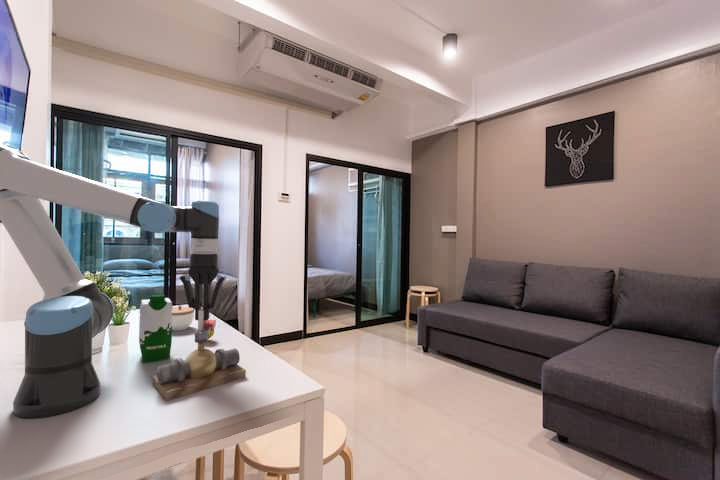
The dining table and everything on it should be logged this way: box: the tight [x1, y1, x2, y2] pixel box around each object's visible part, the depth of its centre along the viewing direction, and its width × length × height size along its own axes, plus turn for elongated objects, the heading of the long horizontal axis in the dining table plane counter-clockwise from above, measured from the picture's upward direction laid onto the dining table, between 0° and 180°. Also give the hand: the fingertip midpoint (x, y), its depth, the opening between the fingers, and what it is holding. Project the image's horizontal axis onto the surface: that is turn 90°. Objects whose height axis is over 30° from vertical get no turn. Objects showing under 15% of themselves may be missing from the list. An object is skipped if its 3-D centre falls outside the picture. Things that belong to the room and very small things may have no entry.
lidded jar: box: [172, 304, 195, 332], centre depth 138 cm, size 11×11×9 cm
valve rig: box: [151, 342, 247, 401], centre depth 92 cm, size 20×12×10 cm, turn 136°
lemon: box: [208, 328, 215, 340], centre depth 124 cm, size 6×6×8 cm
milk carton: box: [138, 293, 173, 364], centre depth 107 cm, size 9×9×20 cm
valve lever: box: [194, 319, 217, 344], centre depth 98 cm, size 15×3×2 cm, turn 14°
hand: (201, 330), depth 102 cm, fingers closed
